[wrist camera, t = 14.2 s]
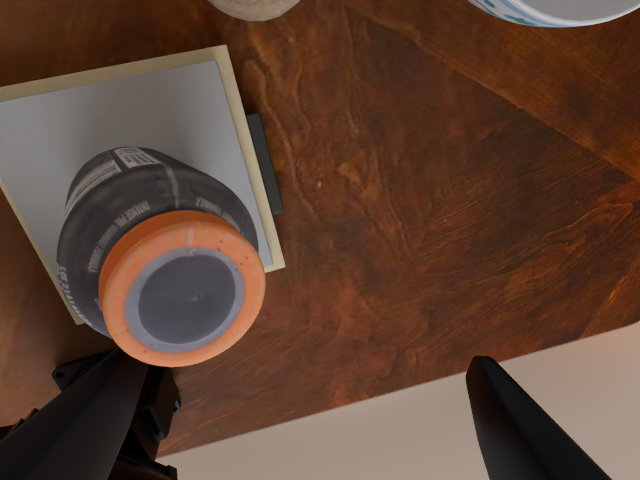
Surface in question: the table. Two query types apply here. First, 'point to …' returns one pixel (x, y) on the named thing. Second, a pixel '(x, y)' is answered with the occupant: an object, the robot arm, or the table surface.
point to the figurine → (254, 8)
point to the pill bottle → (159, 257)
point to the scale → (133, 139)
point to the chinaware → (557, 11)
